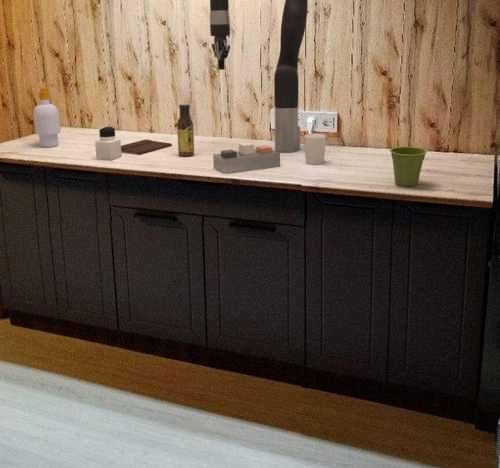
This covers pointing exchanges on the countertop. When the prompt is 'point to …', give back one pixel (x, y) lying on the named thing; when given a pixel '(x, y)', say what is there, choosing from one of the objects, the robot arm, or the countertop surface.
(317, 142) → the grey cup
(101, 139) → the medicine bottle
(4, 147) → the countertop surface
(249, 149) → the off-white cube
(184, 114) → the sauce bottle
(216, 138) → the countertop surface
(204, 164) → the countertop surface
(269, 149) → the terracotta key
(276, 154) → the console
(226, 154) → the charcoal key
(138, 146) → the notebook
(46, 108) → the soap bottle
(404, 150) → the plant pot
